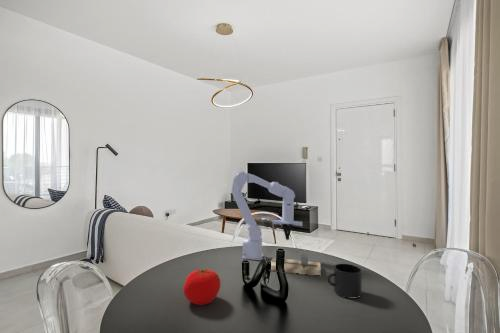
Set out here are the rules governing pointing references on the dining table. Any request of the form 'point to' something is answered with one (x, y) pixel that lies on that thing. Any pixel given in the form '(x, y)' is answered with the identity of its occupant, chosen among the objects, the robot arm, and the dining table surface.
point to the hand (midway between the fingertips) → (287, 239)
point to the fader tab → (304, 259)
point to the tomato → (201, 286)
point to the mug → (347, 280)
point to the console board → (298, 267)
